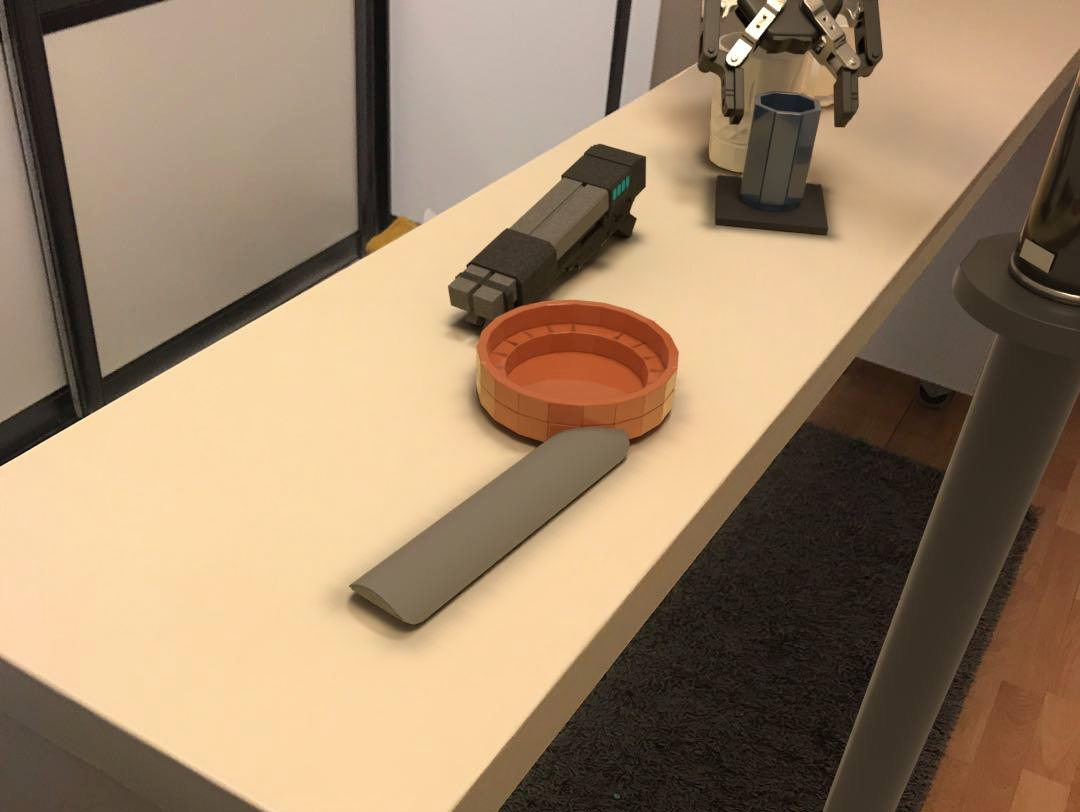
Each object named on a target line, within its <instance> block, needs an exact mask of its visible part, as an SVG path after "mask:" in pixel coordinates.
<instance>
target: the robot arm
mask: <svg viewBox="0 0 1080 812" xmlns="http://www.w3.org/2000/svg"><path fill="white" fill-rule="evenodd" d="M731 12H734V15H735V17H736V18H737V19H738V20H739V22H740V24H742V26H743V27H744V29H745V30H744V33H743V34H742V36H741V38H740V39H739V40H738V42H737V43H736V44H735V45H734V47H733V48H732V49H731V51H730V52H729V53H728V52H726V51H723V50H720V49H719V38H720V37H721V35H720V34H721V24H723V23H725V22H726V20H727V18H728V15H729V14H730V13H731ZM838 14H841V15H843V16H844V17H845V18H846V19H847V23H848V26H849V28H853V27H854V38H855V52H854V50H853V49H852V48H851V46H850V45H849V44H848V43H847V41H846V35H845V33H844V31H843V30H842V29H841V27H840V26H839V25H838V24H837V22H836V21H835V19H836V18H837V16H838ZM880 17H881V16H880V6H879V0H702V1H701V4H700V8H699V26H698V42H697V43H698V45H697V62H696V63H697V66H696V67H697V69H698V71H699V72H700V73H702V74H708V73H712V74H714V75H715V74H717V75H718V76H719V77H720V79H721V103H722V104H721V110H722V113H723V116H724V117H729V124H730V125H739V123H740V122H741V120H742V118H743V115H744V68H742V66H743V65H744V64H745V63H746V62H747V61H748V60H749V59H750V57H751V56H752V55H753V54H754V52H755V51H756V50H757V48H758V47H761V48H762V49H764V50H766V54H777V53H781V52H789V53H792V54H801V55H804V54H805V53H806V51H809V52H810V53H811V54H812V55H813V57H814V58H815V59H816V61H817V62H818V63H819V64H820V65H824V66H826V68H827V69H828V70H829V72H830V73H831V74H832V75H833V77H834V78H835V79H836V82H835V83H834V85H833V89H834V93H833V96H834V103H833V125H834V128H838V129H839V128H841V129H843V128H845V127H846V126H847V125H848V123H849V122H850V121H851V120H852V119H853V118H854V116H855V115H856V113H857V112H858V110H859V107H860V102H859V101H860V100H859V99H860V98H859V96H860V95H859V78H869V77H870V76H871V75H872V73H874V70H875V68H876V67H877V66H878V64H879V63H880V62H881V61H882V59H883V57H884V52H883V51H884V49H883V40H882V39H883V38H882V27H881V18H880ZM823 36H824V37H825V39H826V43H825V42H824V41H823V39H822V37H823ZM1043 168H1044V169H1043V171H1042V173H1041V177H1040V179H1039V182H1038V185H1037V187H1036V190H1035V193H1034V197H1033V198H1032V202H1031V205H1030V207H1029V210H1028V213H1027V216H1026V219H1025V222H1024V223H1023V227H1022V230H1021V232H1022V233H1021V235H1020V238H1019V239H1018V242H1017V245H1016V249H1015V251H1014V252H1013V254H1012V257H1011V259H1010V262H1009V265H1008V270H1009V273H1010V275H1011V276H1012V278H1013V279H1014V280H1015V281H1016V282H1017V283H1018V284H1020V285H1021V286H1022V287H1024V288H1025V289H1027V290H1029V291H1030V292H1032V293H1034V294H1036V295H1039V296H1041V297H1043V298H1046V299H1049V300H1052V301H1055V302H1058V303H1062V304H1066V305H1071V306H1076V307H1080V69H1079V70H1078V73H1077V76H1076V78H1075V81H1074V84H1073V86H1072V89H1071V92H1070V95H1069V98H1068V101H1067V103H1066V107H1065V109H1064V112H1063V114H1062V118H1061V120H1060V124H1059V126H1058V129H1057V132H1056V134H1055V137H1054V140H1053V143H1052V146H1051V148H1050V152H1049V154H1048V157H1047V159H1046V163H1045V165H1044V167H1043Z"/></svg>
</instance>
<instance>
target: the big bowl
mask: <svg viewBox="0 0 1080 812" xmlns="http://www.w3.org/2000/svg"><path fill="white" fill-rule="evenodd" d="M477 341H478V342H477V344H476V354H475V355H476V357H475V358H476V359H475V360H476V363H475V364H476V370H475V371H476V372H475V373H476V377H475V378H476V385H475V386H476V391H477V394H478V398H479V403H480V405H481V406H482V407H483V408H484V409H485V411H486V412H487V413H488V414H489V415H490V416H491V418H492V419H493V420H494V421H496V422H497V423H499V424H501V425H502V426H504V427H505V428H507V429H509V430H511V431H513V432H514V433H516V434H518V435H520V436H523V437H527V438H529V439H533V440H535V441H539V442H542V443H544V442H545V441H547V440H548V439H550V438H551V437H552V436H554V435H555V434H557V433H559V432H562V431H564V430H568V429H574V428H586V427H605V428H611V429H613V428H614V429H625V431H626V432H627V434H628V438H629V440H632V439H634V438H638V437H641V436H643V435H644V434H646V433H647V432H649V431H651V430H652V429H654V428H656V427H657V426H659V425H660V424H661V423H662V422H663V420H664V419H665V418H666V417H667V415H668V414H669V412H670V411H671V409H672V408H673V403H674V396H675V390H676V382H677V376H678V369H679V355H680V351H679V349H678V347H677V345H676V344H675V342H674V340H673V338H672V335H671V333H669V332H668V331H666V330H665V329H664V328H663V327H662V326H661V325H660V324H658V323H657V322H656V321H654V320H653V319H651V318H648V317H646V316H644V315H642V314H640V313H638V312H636V311H634V310H633V309H630V308H625V307H622V306H617V305H614V304H610V303H607V302H602V301H591V300H583V299H582V300H581V299H558V300H555V299H554V300H542V301H538V302H534V303H533V304H529V305H524V306H520V307H517V308H515V309H513V310H511V311H509V312H506V313H504V314H502V315H500V316H498V317H496V318H495V319H494V320H493V321H492V322H491V323H490V324H489V325H488V326H487V327H486V328H483V329H482V331H481V333H480V335H479V338H478V340H477Z"/></svg>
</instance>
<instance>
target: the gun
mask: <svg viewBox="0 0 1080 812" xmlns="http://www.w3.org/2000/svg"><path fill="white" fill-rule="evenodd" d="M560 178H561V179H560V180H559V181H558V182H557V183H556V184H555V185H554V186H553V187H552V188H550V190H548V191H547V192H546V193H545V194H544V195H543V196H542V197H541V198H540V199H539V200H538V201H537V202H536V203H535V204H533V205H532V206H531V207H530V208H529V209H528V210H527V211H526V212H525V213H524V214H523V215H522V216H520V218H518V219H517V220H516V221H515V222H514V223H513V224H512V225H511V226H510V227H506V228H505V229H503V231H501V232H500V233H499V234H498V235H497V236H496V237H495V238H493V240H491V241H490V242H489V243H488V244H487V245H486V246H484V248H483V249H481V251H480V252H478V253H477V255H475V256H474V257H473V258H472V259H471V260H470V261H469V262H468V263H466V265H465V266H466V268H464V270H463V271H460V272H459V273H458V274H457V275H456V276H455V277H454V280H452V282H450V283H449V284H448V285H447V291H448V296H449V302H450V306H451V307H454V308H457V309H460V310H463V311H465V312H467V315H466V318H465V322H468V323H470V324H473V325H476V326H479V327H483V329H485V328H486V327H487V326H488V325H489V324H490V323H491V322H492V321H493V320H494V319H495V318H496V317H498V316H500V315H502V314H504V313H506V312H509V311H511V310H513V309H515V308H517V307H520V306H524V305H529V304H533V303H536V301H537V300H538V299H539V298H540V297H541V296H542V295H543V294H544V292H546V290H548V288H549V286H551V284H552V283H553V282H554V281H556V279H557V278H558V277H559V276H560V275H561V274H562V273H563V272H564V271H566V272H570V271H571V270H572V269H574V270H575V269H576V270H580V269H581V268H582V266H584V264H585V263H586V262H587V261H589V259H590V258H591V257H592V256H593V255H594V254H595V253H596V252H598V251H599V250H600V248H601V247H602V246H603V245H604V244H605V243H606V241H607V240H609V239H610V238H611V236H613V234H618V235H620V236H623V237H626V238H631V237H632V234H633V231H634V229H635V226H636V223H637V220H638V218H637V217H636V216H635V215H633V214H631V210H632V208H633V205H634V202H635V200H636V198H637V196H639V195H640V193H641V192H643V191H644V190H645V189H646V188H647V156H646V155H643V154H638V153H635V152H631V151H628V150H625V149H620V148H617V147H613V146H610V145H606V144H602V143H597V144H593V145H590V147H589V148H588V149H586V150H585V151H584V152H583V154H582V155H581V156H580V157H579V158H578V159H577V160H576V161H575V162H574V163H573V164H571V165H570V166H569V168H567V169H566V170H565V171H564V172H563V173H562V174H561V176H560Z"/></svg>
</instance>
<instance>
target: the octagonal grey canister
mask: <svg viewBox="0 0 1080 812" xmlns="http://www.w3.org/2000/svg"><path fill="white" fill-rule="evenodd" d="M821 114H822V106H821V105H820V101H819V100H816V99H814V98H811V97H809V96H806V95H804V94H801V93H796V92H784V91H770V92H766V93H762V94H758V95H755V96H754V102H753V108H752V114H751V120H750V126H749V132H748V138H747V144H746V150H745V156H744V162H743V168H742V173H740V177H741V180H740V198H741V200H742V201H743V202H744V203H745V204H747V205H748V206H751V207H753V208H756V209H759V210H764V211H772V212H782V211H789V210H792V209H794V208H796V207H797V206H798V205H799V203H800V201H802V200H803V196H804V191H805V186H806V183H807V181H808V177H809V171H810V167H811V162H812V156H813V152H814V147H815V142H816V138H817V134H818V128H819V123H820V118H821Z"/></svg>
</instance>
